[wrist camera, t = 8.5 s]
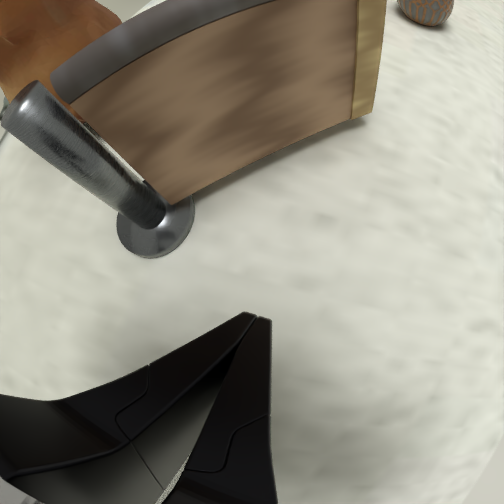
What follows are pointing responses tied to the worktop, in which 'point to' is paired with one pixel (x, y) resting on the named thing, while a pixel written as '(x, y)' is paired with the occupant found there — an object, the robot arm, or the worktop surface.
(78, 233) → the worktop surface
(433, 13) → the vase
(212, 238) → the worktop surface
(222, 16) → the gate leaf
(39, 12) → the butternut squash
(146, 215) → the hinge post
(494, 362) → the worktop surface
